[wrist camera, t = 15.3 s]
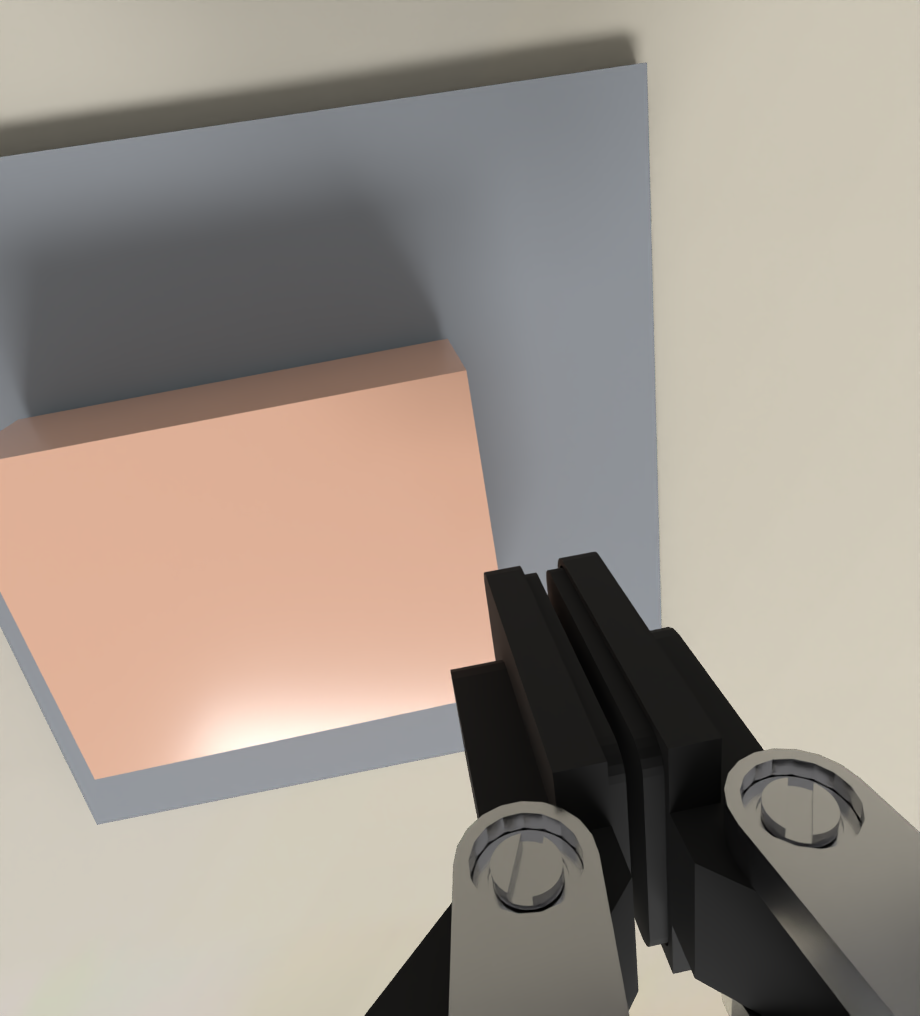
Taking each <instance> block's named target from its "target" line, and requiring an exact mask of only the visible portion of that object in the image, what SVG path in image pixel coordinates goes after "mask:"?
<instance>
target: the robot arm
mask: <svg viewBox="0 0 920 1016" xmlns="http://www.w3.org/2000/svg"><path fill="white" fill-rule="evenodd" d="M546 581H547V591H548V595H547V593H546V591H545V589H544V587H543V584H542V582H541V580H540V578H539V576H538V574H537V573H536V572H535V573H530V574H524V572H523V569H522V568H521V566H515V567H509V568H504V569H499V570H494V571H488V572H484V584H485V591H486V598H487V605H488V612H489V619H490V626H491V633H492V640H493V647H494V654H495V660H496V661H492V662H487V663H482V664H477V665H472V666H467V667H462V668H457V669H452V670H450V672H451V678H452V684H453V689H454V695H455V701H456V706H457V712H458V717H459V723H460V728H461V734H462V739H463V745H464V750H465V755H466V761H467V766H468V771H469V777H470V782H471V787H472V792H473V797H474V803H475V808H476V813H477V818H478V819H477V820H476V821H475V822H474V823H473V824H472V825H471V826H470V827H469V828H468V829H467V830H466V832H465V833H464V835H463V837H462V839H461V840H460V842H459V844H458V845H457V849H456V854H455V859H454V864H453V887H452V903H451V904H450V906H449V907H448V908H447V910H446V911H445V912H444V913H443V915H442V916H441V917H440V919H439V920H438V921H437V923H436V924H435V925H434V926H433V928H432V929H431V930H430V932H429V933H428V934H427V935H426V937H425V938H424V939H423V941H422V942H421V943H420V944H419V946H418V947H417V948H416V950H415V951H414V952H413V954H412V955H411V956H410V957H409V959H408V960H407V961H406V963H405V964H404V965H403V966H402V968H401V969H400V970H399V972H398V973H397V974H396V975H395V977H394V978H393V979H392V981H391V982H390V983H389V985H388V986H387V987H386V988H385V990H384V991H383V992H382V994H381V995H380V996H379V997H378V999H377V1000H376V1001H375V1003H374V1004H373V1005H372V1007H371V1008H370V1009H369V1010H368V1012H367V1013H366V1014H365V1016H629V1009H630V1007H631V1005H632V1003H633V1001H634V999H635V997H636V995H637V993H638V976H637V957H636V939H635V921H634V917H635V920H636V922H637V925H638V928H639V930H640V933H641V935H642V938H643V940H644V942H645V944H646V945H647V946H648V947H650V946H654V945H659V944H661V945H662V948H663V950H664V953H665V955H666V958H667V960H668V963H669V965H670V967H671V970H672V972H673V974H675V973H679V972H683V971H688V970H692V973H693V975H694V977H695V979H697V980H699V981H701V982H703V983H704V984H706V985H708V986H710V987H712V988H713V989H715V990H717V991H719V992H721V994H722V1001H723V1003H724V1006H725V1008H726V1010H727V1012H728V1015H729V1016H920V832H919V831H918V830H917V829H916V828H914V827H913V826H912V825H911V824H910V823H909V822H908V821H907V820H906V819H905V818H903V817H902V816H901V815H900V814H899V813H898V812H897V811H896V810H895V809H894V808H892V807H891V806H890V805H889V804H888V803H887V802H886V801H885V800H884V799H883V798H881V797H880V796H879V795H878V794H877V793H876V792H875V791H874V790H873V789H872V788H870V787H869V786H868V785H867V784H866V783H865V782H864V781H863V780H862V779H861V778H859V777H858V776H856V775H855V774H854V773H852V772H851V771H850V770H848V769H847V768H845V767H844V766H843V765H841V764H839V763H837V762H835V761H832V760H830V759H828V758H826V757H823V756H821V755H819V754H815V753H810V752H806V751H802V750H798V749H769V750H763V748H762V747H761V746H760V744H759V743H758V742H757V740H756V739H755V737H754V736H753V735H752V733H751V732H750V731H749V729H748V728H747V727H746V725H745V724H744V722H743V721H742V720H741V718H740V717H739V716H738V714H737V713H736V712H735V710H734V709H733V707H732V706H731V705H730V703H729V702H728V701H727V699H726V698H725V696H724V695H723V694H722V692H721V691H720V690H719V688H718V687H717V686H716V684H715V683H714V681H713V680H712V679H711V677H710V676H709V675H708V673H707V672H706V671H705V669H704V668H703V666H702V665H701V664H700V662H699V661H698V660H697V658H696V657H695V656H694V654H693V653H692V651H691V650H690V649H689V647H688V646H687V645H686V643H685V642H684V641H683V639H682V638H681V636H680V635H679V634H678V633H677V632H676V631H675V630H674V629H673V628H670V627H666V628H661V629H655V630H649V629H648V627H647V626H646V624H645V623H644V621H643V620H642V618H641V617H640V615H639V614H638V612H637V611H636V609H635V608H634V606H633V605H632V603H631V602H630V600H629V599H628V597H627V596H626V594H625V593H624V591H623V590H622V588H621V587H620V585H619V584H618V582H617V581H616V579H615V578H614V576H613V575H612V573H611V572H610V570H609V569H608V567H607V566H606V565H605V563H604V562H603V560H602V559H601V557H600V556H599V554H598V553H597V552H589V553H584V554H579V555H573V556H568V557H563V558H559V559H558V568H557V569H551V570H547V572H546Z"/></svg>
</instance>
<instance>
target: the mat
mask: <svg viewBox="0 0 920 1016" xmlns="http://www.w3.org/2000/svg"><path fill="white" fill-rule="evenodd" d="M443 339H448V340H449V342H450V344H451V345H452V347H453V349H454V350H455V352H456V354H457V355H458V357H459V359H460V360H461V362H462V364H463V365H464V367H465V369H466V371H467V377H468V384H469V390H470V396H471V402H472V409H473V415H474V421H475V428H476V434H477V440H478V446H479V453H480V459H481V465H482V472H483V478H484V484H485V490H486V497H487V503H488V509H489V516H490V522H491V528H492V534H493V541H494V547H495V553H496V560H497V566H498V570H499V569H504V568H509V567H515V566H521V568H522V569H523V572H524V574H530V573H535V572H536V573H537V574H538V576H539V578H540V580H541V582H542V584H543V587H544V589H545V591H546V593H547V595H548V591H547V581H546V572H547V570H551V569H557V568H558V559H559V558H563V557H568V556H573V555H579V554H584V553H589V552H597V553H598V554H599V556H600V557H601V559H602V560H603V562H604V563H605V565H606V566H607V567H608V569H609V570H610V572H611V573H612V575H613V576H614V578H615V579H616V581H617V582H618V584H619V585H620V587H621V588H622V590H623V591H624V593H625V594H626V596H627V597H628V599H629V600H630V602H631V603H632V605H633V606H634V608H635V609H636V611H637V612H638V614H639V615H640V617H641V618H642V620H643V621H644V623H645V624H646V626H647V627H648V629H649V630H655V629H661V595H660V556H659V517H658V477H657V438H656V399H655V360H654V321H653V282H652V243H651V203H650V164H649V125H648V86H647V63H640V64H633V65H626V66H619V67H612V68H605V69H599V70H592V71H585V72H578V73H571V74H564V75H558V76H551V77H544V78H537V79H530V80H523V81H517V82H510V83H503V84H496V85H489V86H482V87H476V88H469V89H462V90H455V91H448V92H441V93H435V94H428V95H421V96H414V97H407V98H400V99H394V100H387V101H380V102H373V103H366V104H359V105H352V106H346V107H339V108H332V109H325V110H318V111H311V112H305V113H298V114H291V115H284V116H277V117H270V118H264V119H257V120H250V121H243V122H236V123H229V124H223V125H216V126H209V127H202V128H195V129H188V130H182V131H175V132H168V133H161V134H154V135H147V136H141V137H134V138H127V139H120V140H113V141H106V142H100V143H93V144H86V145H79V146H72V147H65V148H58V149H52V150H45V151H38V152H31V153H24V154H17V155H11V156H4V157H0V431H1V430H3V429H4V428H6V427H7V426H9V425H10V424H12V423H14V422H15V421H17V420H18V419H24V418H29V417H34V416H39V415H45V414H50V413H55V412H61V411H66V410H71V409H77V408H82V407H87V406H93V405H98V404H103V403H109V402H114V401H119V400H124V399H130V398H135V397H140V396H146V395H151V394H156V393H162V392H167V391H172V390H178V389H183V388H188V387H193V386H199V385H204V384H209V383H215V382H220V381H225V380H231V379H236V378H241V377H247V376H252V375H257V374H262V373H268V372H273V371H278V370H284V369H289V368H294V367H300V366H305V365H310V364H316V363H321V362H326V361H332V360H337V359H342V358H347V357H353V356H358V355H363V354H369V353H374V352H379V351H385V350H390V349H395V348H401V347H406V346H411V345H416V344H422V343H427V342H432V341H438V340H443ZM0 627H1V629H2V631H3V633H4V635H5V637H6V639H7V641H8V643H9V645H10V647H11V649H12V651H13V653H14V655H15V657H16V659H17V661H18V664H19V666H20V668H21V670H22V672H23V674H24V676H25V678H26V680H27V682H28V684H29V686H30V688H31V690H32V692H33V694H34V696H35V698H36V700H37V702H38V705H39V707H40V709H41V711H42V713H43V715H44V717H45V719H46V721H47V723H48V725H49V727H50V729H51V731H52V733H53V735H54V737H55V739H56V741H57V743H58V746H59V748H60V750H61V752H62V754H63V756H64V758H65V760H66V762H67V764H68V766H69V768H70V770H71V772H72V774H73V776H74V778H75V780H76V782H77V784H78V787H79V789H80V791H81V793H82V795H83V797H84V799H85V801H86V803H87V805H88V807H89V809H90V811H91V813H92V815H93V817H94V819H95V821H96V823H97V825H98V824H103V823H108V822H113V821H118V820H123V819H128V818H133V817H138V816H143V815H148V814H153V813H158V812H163V811H168V810H173V809H178V808H183V807H188V806H193V805H198V804H203V803H208V802H213V801H218V800H223V799H228V798H233V797H238V796H243V795H248V794H253V793H258V792H263V791H268V790H273V789H278V788H283V787H288V786H293V785H298V784H303V783H308V782H313V781H318V780H323V779H328V778H333V777H338V776H343V775H348V774H353V773H358V772H363V771H368V770H373V769H378V768H383V767H388V766H393V765H398V764H403V763H408V762H413V761H418V760H423V759H428V758H433V757H438V756H443V755H448V754H453V753H458V752H463V751H465V750H464V745H463V739H462V734H461V728H460V723H459V717H458V712H457V706H456V703H452V704H447V705H442V706H438V707H433V708H428V709H424V710H419V711H414V712H410V713H405V714H400V715H396V716H391V717H386V718H381V719H377V720H372V721H367V722H363V723H358V724H353V725H349V726H344V727H339V728H335V729H330V730H325V731H321V732H316V733H311V734H307V735H302V736H297V737H292V738H288V739H283V740H278V741H274V742H269V743H264V744H260V745H255V746H250V747H246V748H241V749H236V750H232V751H227V752H222V753H218V754H213V755H208V756H204V757H199V758H194V759H189V760H185V761H180V762H175V763H171V764H166V765H161V766H157V767H152V768H147V769H143V770H138V771H133V772H129V773H124V774H119V775H115V776H110V777H105V778H100V779H96V780H95V779H94V777H93V775H92V773H91V771H90V769H89V767H88V765H87V763H86V761H85V759H84V757H83V755H82V753H81V751H80V749H79V747H78V745H77V743H76V741H75V739H74V737H73V735H72V733H71V731H70V729H69V727H68V725H67V723H66V721H65V719H64V717H63V715H62V713H61V711H60V709H59V707H58V705H57V703H56V701H55V699H54V697H53V696H52V694H51V692H50V690H49V688H48V686H47V684H46V682H45V680H44V678H43V676H42V674H41V672H40V670H39V668H38V666H37V664H36V662H35V660H34V658H33V656H32V654H31V652H30V650H29V648H28V646H27V644H26V642H25V640H24V638H23V636H22V634H21V632H20V630H19V628H18V626H17V624H16V622H15V620H14V618H13V616H12V614H11V612H10V610H9V608H8V606H7V604H6V602H5V600H4V598H3V596H2V594H1V592H0Z"/></svg>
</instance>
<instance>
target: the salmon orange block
mask: <svg viewBox="0 0 920 1016" xmlns="http://www.w3.org/2000/svg"><path fill="white" fill-rule="evenodd" d="M494 570H498V566H497V560H496V553H495V547H494V541H493V534H492V528H491V522H490V516H489V509H488V503H487V497H486V490H485V484H484V478H483V472H482V465H481V459H480V453H479V446H478V440H477V434H476V428H475V421H474V415H473V409H472V402H471V396H470V390H469V384H468V377H467V371H466V369H465V367H464V365H463V364H462V362H461V360H460V359H459V357H458V355H457V354H456V352H455V350H454V349H453V347H452V345H451V344H450V342H449V340H448V339H443V340H438V341H432V342H427V343H422V344H416V345H411V346H406V347H401V348H395V349H390V350H385V351H379V352H374V353H369V354H363V355H358V356H353V357H347V358H342V359H337V360H332V361H326V362H321V363H316V364H310V365H305V366H300V367H294V368H289V369H284V370H278V371H273V372H268V373H262V374H257V375H252V376H247V377H241V378H236V379H231V380H225V381H220V382H215V383H209V384H204V385H199V386H193V387H188V388H183V389H178V390H172V391H167V392H162V393H156V394H151V395H146V396H140V397H135V398H130V399H124V400H119V401H114V402H109V403H103V404H98V405H93V406H87V407H82V408H77V409H71V410H66V411H61V412H55V413H50V414H45V415H39V416H34V417H29V418H24V419H18V420H17V421H15V422H14V423H12V424H10V425H9V426H7V427H6V428H4V429H3V430H1V431H0V592H1V594H2V596H3V598H4V600H5V602H6V604H7V606H8V608H9V610H10V612H11V614H12V616H13V618H14V620H15V622H16V624H17V626H18V628H19V630H20V632H21V634H22V636H23V638H24V640H25V642H26V644H27V646H28V648H29V650H30V652H31V654H32V656H33V658H34V660H35V662H36V664H37V666H38V668H39V670H40V672H41V674H42V676H43V678H44V680H45V682H46V684H47V686H48V688H49V690H50V692H51V694H52V696H53V697H54V699H55V701H56V703H57V705H58V707H59V709H60V711H61V713H62V715H63V717H64V719H65V721H66V723H67V725H68V727H69V729H70V731H71V733H72V735H73V737H74V739H75V741H76V743H77V745H78V747H79V749H80V751H81V753H82V755H83V757H84V759H85V761H86V763H87V765H88V767H89V769H90V771H91V773H92V775H93V777H94V779H95V780H96V779H100V778H105V777H110V776H115V775H119V774H124V773H129V772H133V771H138V770H143V769H147V768H152V767H157V766H161V765H166V764H171V763H175V762H180V761H185V760H189V759H194V758H199V757H204V756H208V755H213V754H218V753H222V752H227V751H232V750H236V749H241V748H246V747H250V746H255V745H260V744H264V743H269V742H274V741H278V740H283V739H288V738H292V737H297V736H302V735H307V734H311V733H316V732H321V731H325V730H330V729H335V728H339V727H344V726H349V725H353V724H358V723H363V722H367V721H372V720H377V719H381V718H386V717H391V716H396V715H400V714H405V713H410V712H414V711H419V710H424V709H428V708H433V707H438V706H442V705H447V704H452V703H456V701H455V695H454V689H453V684H452V678H451V672H450V670H452V669H457V668H462V667H467V666H472V665H477V664H482V663H487V662H492V661H496V660H495V654H494V647H493V640H492V633H491V626H490V619H489V612H488V605H487V598H486V591H485V584H484V572H488V571H494Z"/></svg>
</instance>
